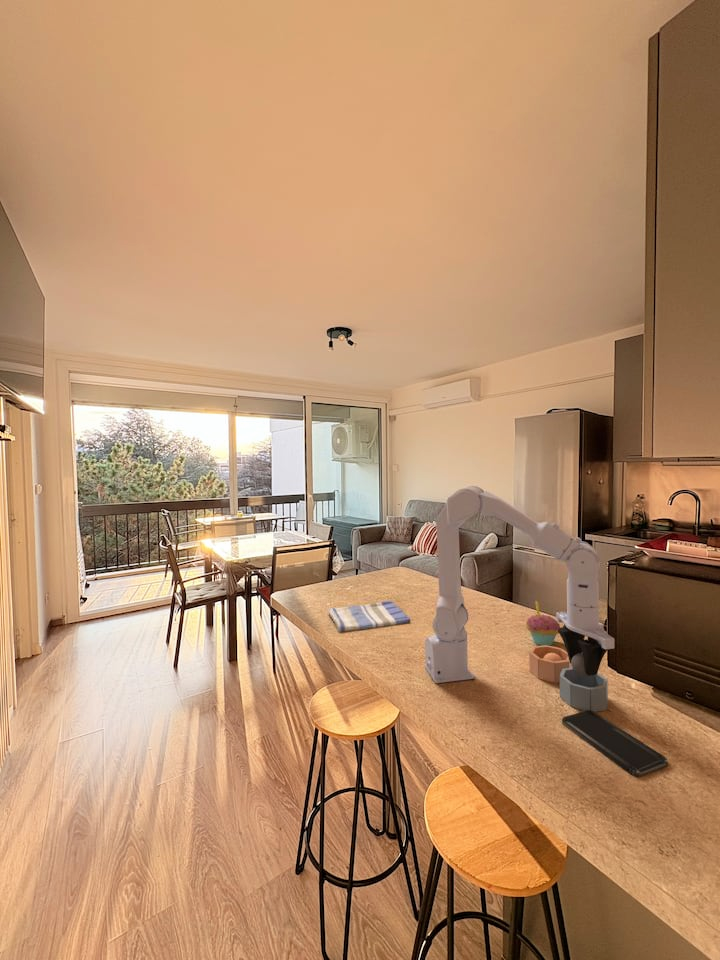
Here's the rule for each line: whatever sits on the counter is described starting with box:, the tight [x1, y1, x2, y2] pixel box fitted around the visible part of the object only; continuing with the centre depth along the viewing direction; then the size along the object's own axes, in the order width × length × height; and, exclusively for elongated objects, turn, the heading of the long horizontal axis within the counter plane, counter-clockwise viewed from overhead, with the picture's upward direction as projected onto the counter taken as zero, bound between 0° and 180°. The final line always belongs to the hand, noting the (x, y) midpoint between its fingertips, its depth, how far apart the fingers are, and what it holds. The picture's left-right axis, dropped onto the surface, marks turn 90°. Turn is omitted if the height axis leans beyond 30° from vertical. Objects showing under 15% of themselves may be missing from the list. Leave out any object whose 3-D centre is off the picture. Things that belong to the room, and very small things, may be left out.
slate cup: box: [559, 668, 609, 713], centre depth 85 cm, size 8×8×4 cm
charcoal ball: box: [571, 653, 588, 677], centre depth 84 cm, size 4×4×4 cm
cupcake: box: [525, 598, 561, 646], centre depth 111 cm, size 9×8×12 cm
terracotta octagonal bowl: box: [528, 645, 572, 684], centre depth 95 cm, size 8×8×4 cm
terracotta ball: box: [543, 653, 562, 661], centre depth 94 cm, size 4×4×4 cm
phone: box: [561, 710, 669, 778], centre depth 72 cm, size 8×1×15 cm
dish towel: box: [327, 600, 412, 633], centre depth 133 cm, size 17×24×3 cm
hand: (583, 668), depth 84 cm, fingers closed on charcoal ball, 4 cm apart
